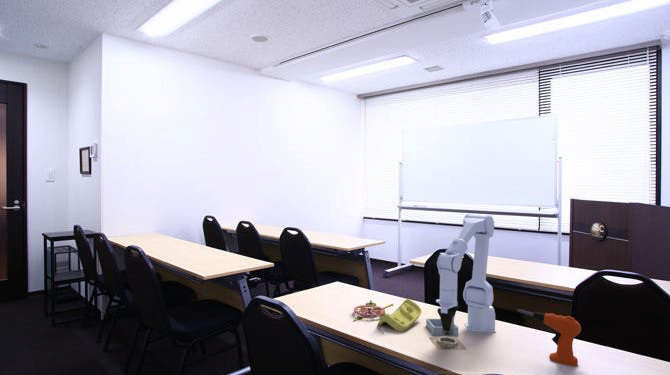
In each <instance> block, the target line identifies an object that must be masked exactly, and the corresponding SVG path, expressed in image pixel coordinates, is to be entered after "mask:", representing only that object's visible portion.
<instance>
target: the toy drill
mask: <svg viewBox="0 0 670 375" xmlns="http://www.w3.org/2000/svg"><path fill="white" fill-rule="evenodd" d="M516 311H517V312H519V313H522V314H524V315H527V316H529V317H532V318H533V320H536V321H539V322H542V323H543V325H546V326H547V327H549V328H551V329H552V330H554V331H556V333H555V335H554V336H553V337H552V338H551V341H553V343H554V344H556V346H557V347H556V351H555V352H550V354H549V356H548V358H549V360H550V361H551V362H554V363H557V364H560V365H565V366H569V367H570V366H571V367H578V365H579V362H578V358H577V356H575V355H574V351H573V349H574V348H573V342H574V338H575V337H577V336H579V334H580V333H581V332H582V327H581V325H580V322H578V321H577V320H576V319H575V318H574V317H572V316H569V315H566V316H563V315H561V314H559V315H557V314H555V313H547V312H545V313H543V312H539V311H534V312H531V311H527V310H525V309H519V308H518V309H516Z"/></svg>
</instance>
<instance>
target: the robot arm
mask: <svg viewBox="0 0 670 375" xmlns="http://www.w3.org/2000/svg"><path fill="white" fill-rule="evenodd" d="M462 226H463V227H462V229H461V231H460V233H459V235H458V237H457V238H455V239H453V240H451V242H450V244H449V246H447V248H446V250H445V252H444V253H441V254H439V255H438V257H437V261H436V266H437V269H438V275H439V299H436V300H435V303H437V304H439V306H440V307H439V308H437V309H436V310H437V313H438V315H439V319H441V322H442V327H443V330H444V331H450V328H451V322H452V318H453V315H454V318H455V317H456V313H457V311H458V309H459V305H458V303H459V302H458V272H460V269H461V268H462V262H463V257H464V255H465V254H466V252H467V250H468V245H467V244H468V243H469V242H470V240H472V238H473V237H474V238H475V243H474V252H473V253H474V254H473V265H472V275H471V279H470V280H468V281H466V282H465V286H464V289H463V292H462V296H463V300H464V301H465V304H466V305H467V322H464V323H463V325H464V326H465V327H466V328H467V329H468V330H469V331H470V332H479V333H480V332H489V333H496V332H497V330H496V312H495V308H494V307H493V306H492V305H493V303H494V290H493V286H492V285H491V284H490V283H489V282H488V281H487V280H486V279H487V268H488V259H489V257H488V256H489V246H490V238H492V237H494V230H495V221H494V218H493V216H492V215H490V214H473V213H466V214H465V215H464V217H463V220H462Z"/></svg>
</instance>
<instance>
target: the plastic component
mask: <svg viewBox="0 0 670 375" xmlns="http://www.w3.org/2000/svg"><path fill="white" fill-rule="evenodd" d="M422 312H423V311H422V308H421V307H420V305H418V304H417V303H416V302H414V301H413V300H412V299H410V298H407V299H405V300H404V301H403V302H402V304H400V305H399V306H398V308H397V309H395V311H393V312H392V313H391V314H390V316H389V315H388V314H389V313H386V314H385V315H382V317H381V318H380V320H379V321H378V323H377V326H379V327H382V326H383V325H384V324H386V323H387V324H388V325H389V326H390V327H391V328H393V329H395V331H397V332H405V331H406V330H408V329H409V328H410V327H412V326H413V325H414V324H415V323H416V321H418V319H419V318H420V317H421V315H422Z"/></svg>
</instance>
